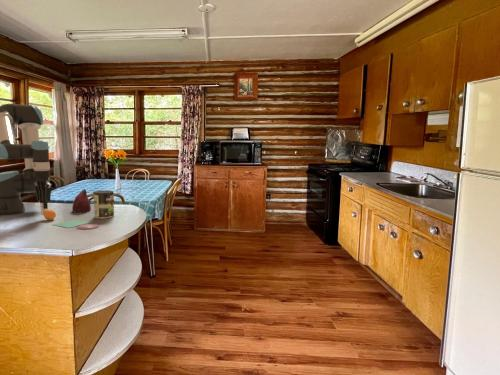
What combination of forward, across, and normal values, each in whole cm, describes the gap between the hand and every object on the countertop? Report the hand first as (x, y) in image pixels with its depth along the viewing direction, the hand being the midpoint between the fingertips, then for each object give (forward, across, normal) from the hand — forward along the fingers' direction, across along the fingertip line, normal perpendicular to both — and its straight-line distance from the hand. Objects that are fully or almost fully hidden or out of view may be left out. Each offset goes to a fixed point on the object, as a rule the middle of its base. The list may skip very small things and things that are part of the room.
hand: (44, 214), depth 178 cm
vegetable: (+3, -4, +24) cm, 25 cm away
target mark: (+3, +21, +1) cm, 21 cm away
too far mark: (+3, +33, +1) cm, 33 cm away
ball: (0, +4, 0) cm, 4 cm away
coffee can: (+3, +20, +21) cm, 29 cm away
